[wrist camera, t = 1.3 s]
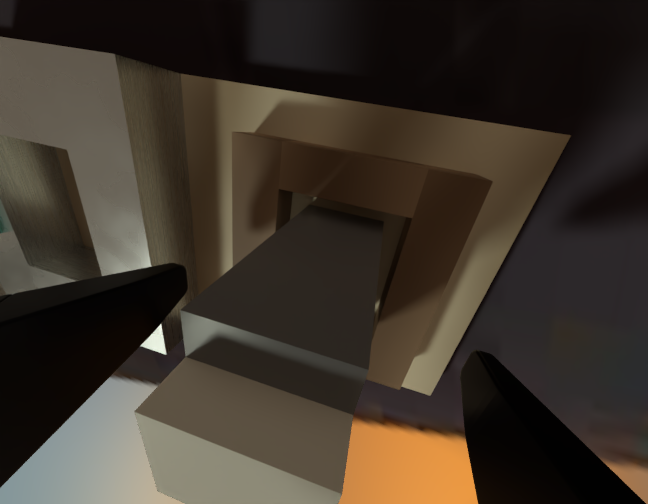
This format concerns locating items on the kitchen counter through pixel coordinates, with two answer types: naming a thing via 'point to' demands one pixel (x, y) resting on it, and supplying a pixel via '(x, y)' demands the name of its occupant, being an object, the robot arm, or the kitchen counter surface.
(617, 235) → the kitchen counter surface
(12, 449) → the robot arm
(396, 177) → the brown rectangular frame
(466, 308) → the board
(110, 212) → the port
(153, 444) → the plug
